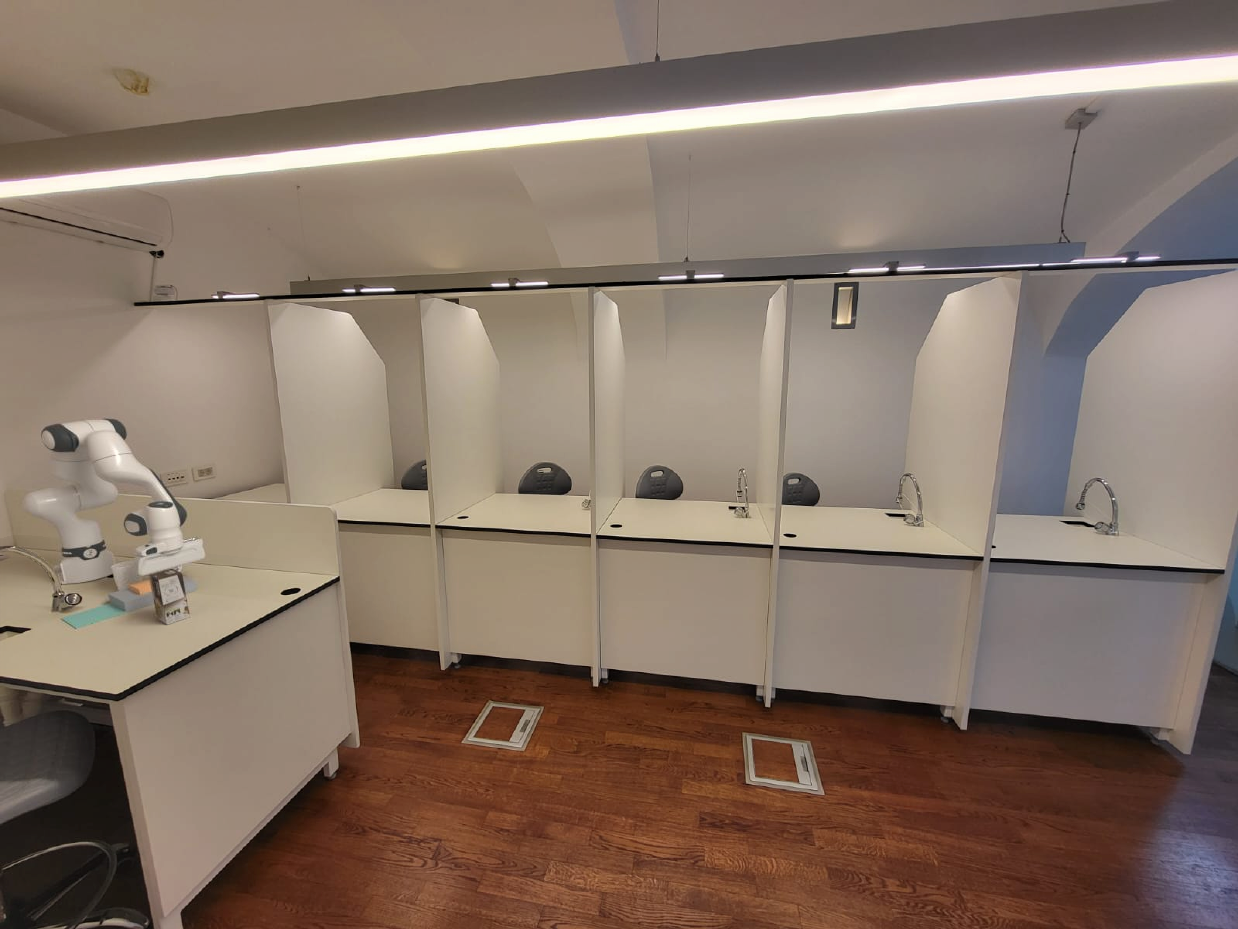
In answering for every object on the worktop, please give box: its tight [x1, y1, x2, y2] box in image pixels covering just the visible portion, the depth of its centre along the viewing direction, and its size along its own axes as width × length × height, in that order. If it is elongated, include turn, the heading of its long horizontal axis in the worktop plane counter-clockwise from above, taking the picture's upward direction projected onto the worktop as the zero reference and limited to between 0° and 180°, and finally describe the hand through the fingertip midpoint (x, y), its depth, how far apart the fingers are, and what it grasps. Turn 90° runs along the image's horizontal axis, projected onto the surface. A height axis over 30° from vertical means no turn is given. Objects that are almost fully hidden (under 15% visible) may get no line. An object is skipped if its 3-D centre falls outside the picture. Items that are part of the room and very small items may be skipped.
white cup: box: [111, 559, 143, 591], centre depth 184 cm, size 8×8×10 cm
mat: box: [60, 603, 126, 629], centre depth 163 cm, size 14×12×1 cm
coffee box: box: [148, 568, 191, 625], centre depth 160 cm, size 9×6×16 cm
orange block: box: [129, 578, 152, 595], centre depth 175 cm, size 9×6×2 cm, turn 63°
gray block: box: [107, 575, 198, 614], centre depth 177 cm, size 14×20×4 cm
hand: (174, 577), depth 182 cm, fingers closed
